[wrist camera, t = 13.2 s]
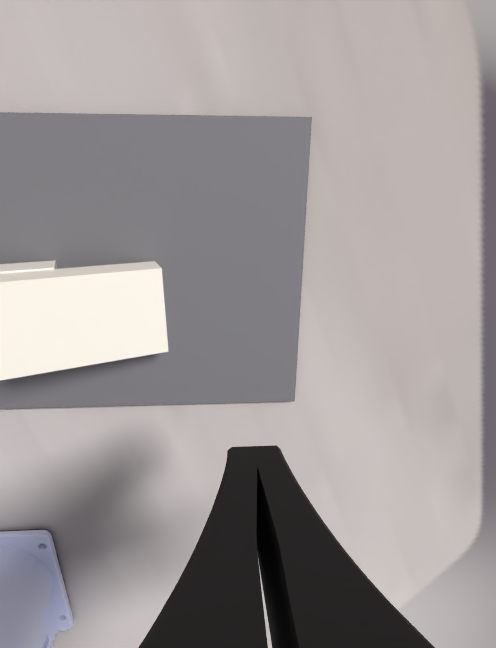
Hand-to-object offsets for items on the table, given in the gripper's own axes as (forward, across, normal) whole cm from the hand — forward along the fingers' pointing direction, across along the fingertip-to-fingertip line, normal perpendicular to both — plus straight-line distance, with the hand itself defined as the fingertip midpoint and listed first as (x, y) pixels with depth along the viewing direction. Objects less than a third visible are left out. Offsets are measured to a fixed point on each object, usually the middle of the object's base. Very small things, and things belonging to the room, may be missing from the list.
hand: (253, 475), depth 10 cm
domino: (+9, +4, -2) cm, 10 cm away
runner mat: (+10, +11, -3) cm, 15 cm away
